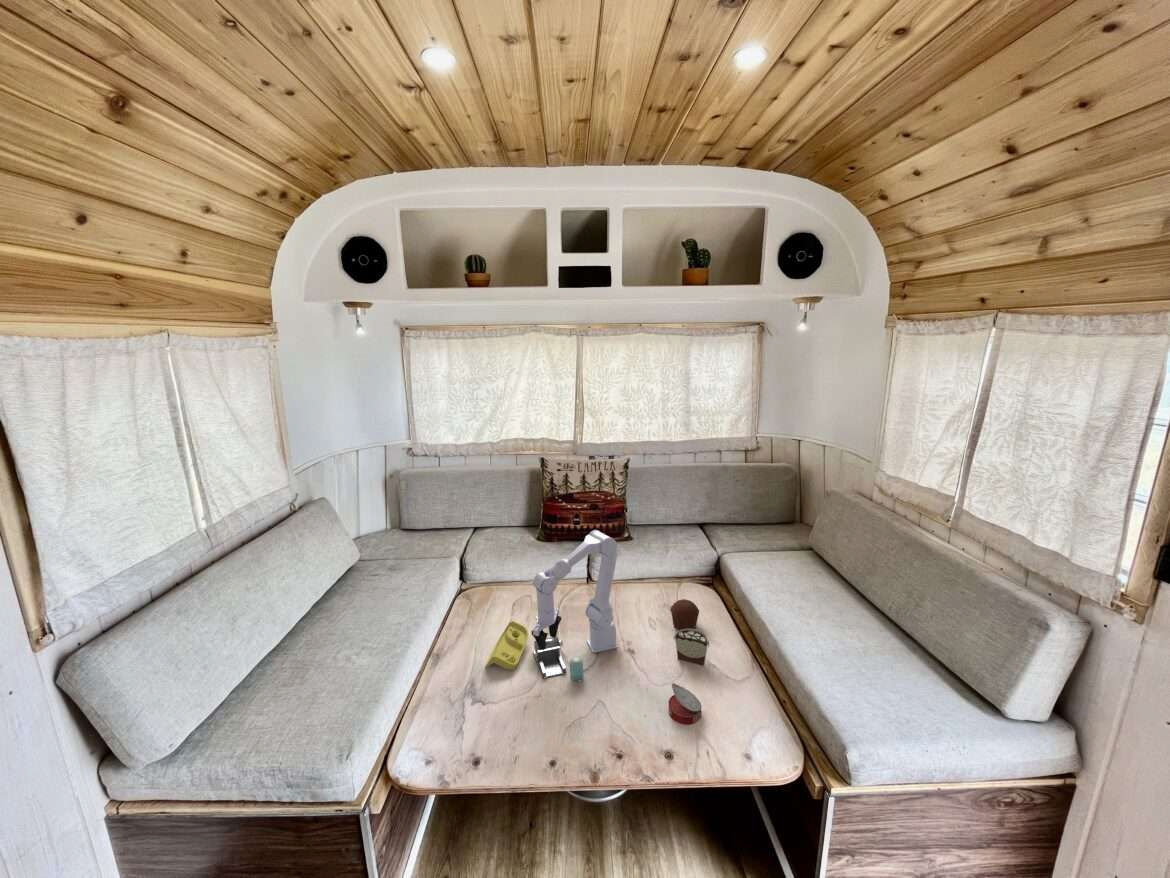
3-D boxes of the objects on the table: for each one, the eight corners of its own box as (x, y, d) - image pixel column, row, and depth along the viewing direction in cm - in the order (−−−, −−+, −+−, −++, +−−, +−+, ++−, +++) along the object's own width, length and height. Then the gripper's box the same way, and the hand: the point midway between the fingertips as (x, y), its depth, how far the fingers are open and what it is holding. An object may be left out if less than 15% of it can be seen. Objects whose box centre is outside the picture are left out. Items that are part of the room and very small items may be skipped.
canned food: (676, 713, 154) (680, 680, 157) (705, 725, 148) (709, 690, 150) (658, 717, 146) (663, 682, 149) (688, 730, 140) (693, 693, 142)
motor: (560, 646, 182) (559, 631, 181) (571, 672, 168) (570, 656, 167) (533, 651, 179) (532, 637, 178) (541, 678, 165) (541, 663, 164)
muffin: (697, 636, 186) (697, 612, 184) (668, 631, 190) (668, 608, 188) (700, 619, 197) (700, 596, 195) (672, 615, 201) (673, 592, 199)
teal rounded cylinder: (581, 671, 168) (580, 654, 167) (584, 679, 164) (584, 662, 163) (568, 674, 167) (568, 657, 166) (572, 682, 163) (571, 665, 161)
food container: (711, 657, 174) (712, 632, 172) (708, 667, 168) (709, 642, 166) (677, 648, 179) (678, 624, 177) (673, 658, 173) (673, 633, 171)
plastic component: (516, 666, 168) (490, 654, 168) (509, 681, 170) (483, 669, 171) (531, 629, 187) (508, 618, 187) (525, 643, 189) (502, 632, 190)
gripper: (546, 594, 174) (548, 628, 177) (524, 615, 161) (526, 652, 164) (563, 598, 171) (565, 633, 173) (542, 620, 158) (544, 657, 161)
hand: (547, 642), depth 168 cm, fingers open, 7 cm apart
